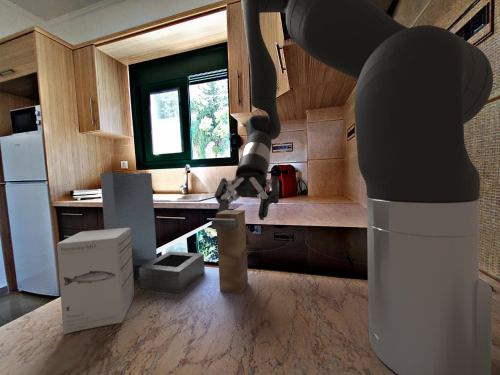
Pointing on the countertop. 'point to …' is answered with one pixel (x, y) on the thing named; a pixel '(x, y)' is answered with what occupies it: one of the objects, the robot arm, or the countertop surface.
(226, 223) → the tan post
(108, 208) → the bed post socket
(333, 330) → the countertop surface
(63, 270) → the supplement box
